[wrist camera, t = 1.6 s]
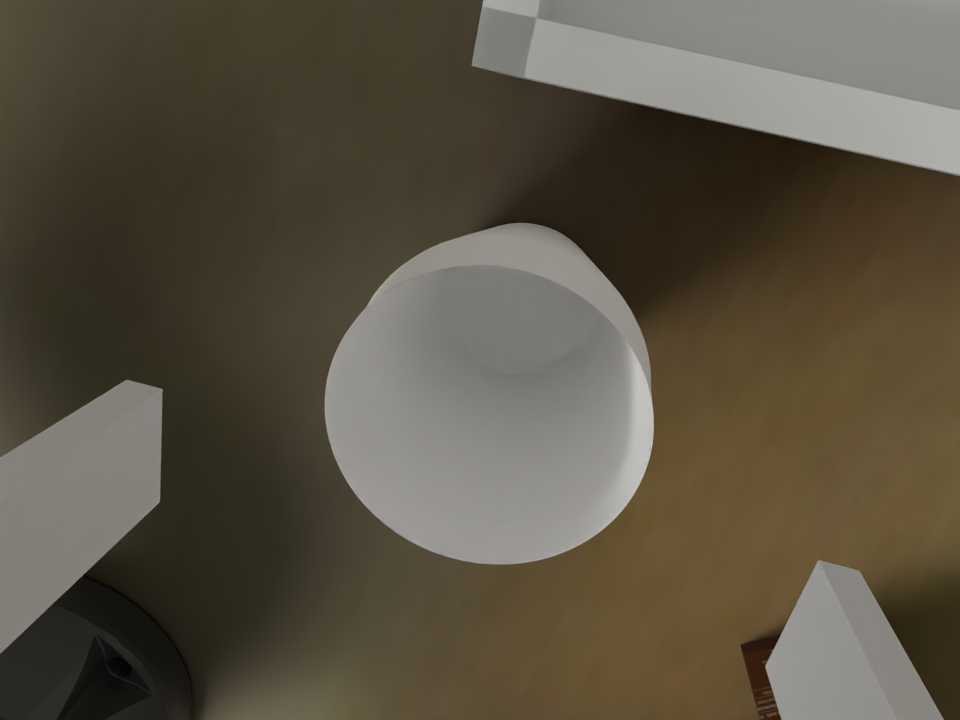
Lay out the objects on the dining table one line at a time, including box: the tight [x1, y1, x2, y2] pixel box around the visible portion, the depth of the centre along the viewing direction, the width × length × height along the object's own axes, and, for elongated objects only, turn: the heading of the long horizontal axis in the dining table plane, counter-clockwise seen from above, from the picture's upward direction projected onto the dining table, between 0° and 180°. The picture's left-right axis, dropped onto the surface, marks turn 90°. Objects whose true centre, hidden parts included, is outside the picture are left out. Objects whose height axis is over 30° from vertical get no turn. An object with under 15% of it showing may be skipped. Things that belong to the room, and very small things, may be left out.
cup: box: [325, 223, 654, 564], centre depth 23 cm, size 9×9×12 cm
